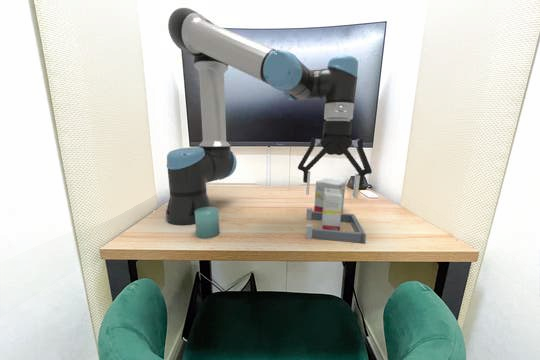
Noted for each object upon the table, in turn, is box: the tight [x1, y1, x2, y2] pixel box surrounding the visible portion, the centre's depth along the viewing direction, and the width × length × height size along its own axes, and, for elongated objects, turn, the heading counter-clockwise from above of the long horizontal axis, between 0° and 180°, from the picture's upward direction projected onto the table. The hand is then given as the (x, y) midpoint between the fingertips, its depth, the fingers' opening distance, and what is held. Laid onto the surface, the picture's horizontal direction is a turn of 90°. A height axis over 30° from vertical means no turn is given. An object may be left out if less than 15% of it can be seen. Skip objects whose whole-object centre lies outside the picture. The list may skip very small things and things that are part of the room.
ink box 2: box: [321, 188, 342, 231], centre depth 63 cm, size 9×5×12 cm, turn 167°
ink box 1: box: [313, 177, 346, 213], centre depth 78 cm, size 9×9×12 cm
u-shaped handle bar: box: [305, 207, 367, 244], centre depth 64 cm, size 15×15×4 cm
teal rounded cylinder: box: [194, 206, 220, 240], centre depth 60 cm, size 6×6×7 cm
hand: (330, 195), depth 62 cm, fingers open, 13 cm apart
